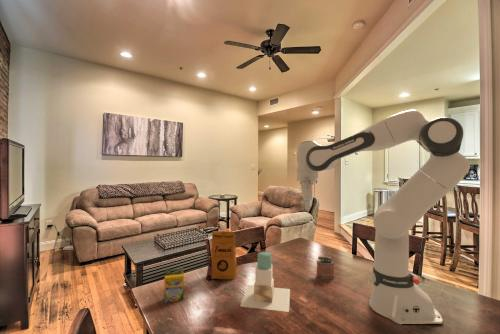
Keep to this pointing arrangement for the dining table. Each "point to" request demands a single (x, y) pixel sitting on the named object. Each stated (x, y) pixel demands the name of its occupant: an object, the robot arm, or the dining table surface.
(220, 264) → the coffee package
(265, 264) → the teal rounded cube
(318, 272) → the lighter
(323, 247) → the dining table surface
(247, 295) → the white flat board
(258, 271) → the white block
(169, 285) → the crayon box
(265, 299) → the maple block
